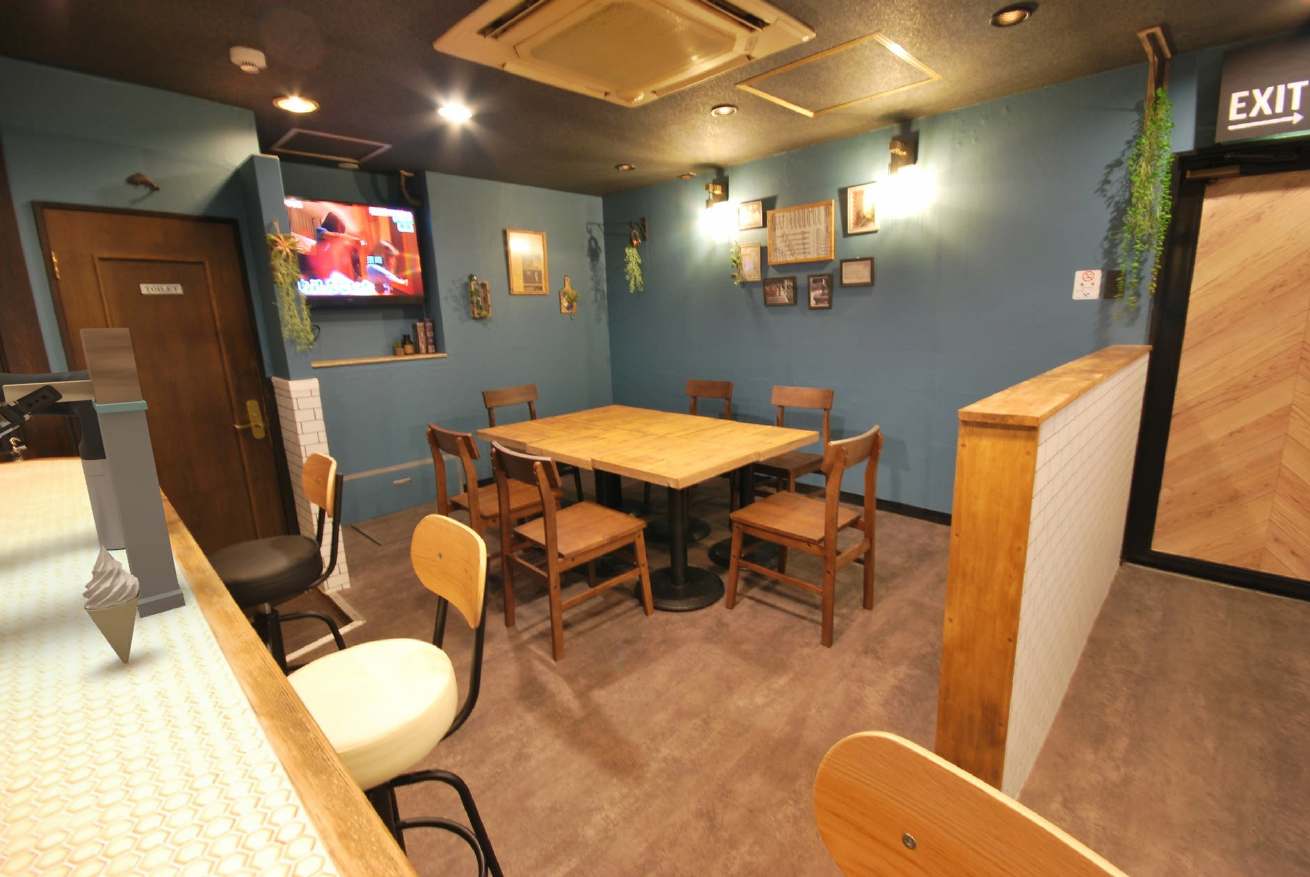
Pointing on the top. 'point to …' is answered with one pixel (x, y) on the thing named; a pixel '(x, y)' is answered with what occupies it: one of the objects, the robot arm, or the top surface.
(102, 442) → the robot arm
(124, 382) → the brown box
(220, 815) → the top surface
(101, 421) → the stand
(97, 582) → the ice cream cone
